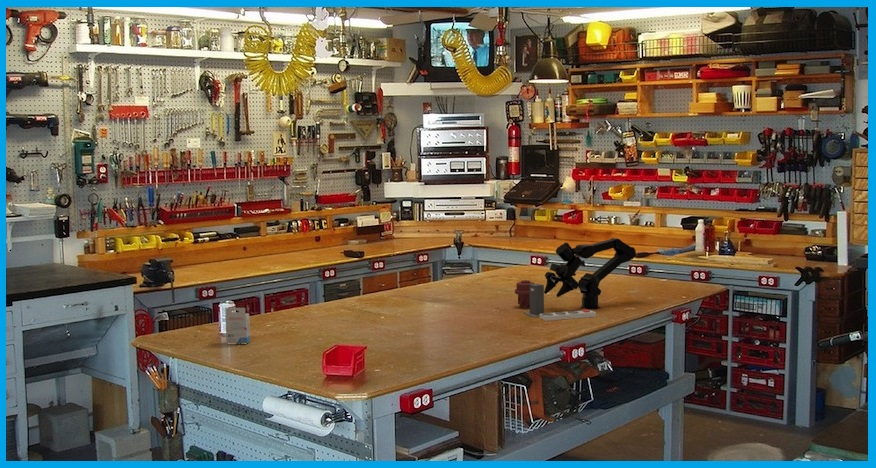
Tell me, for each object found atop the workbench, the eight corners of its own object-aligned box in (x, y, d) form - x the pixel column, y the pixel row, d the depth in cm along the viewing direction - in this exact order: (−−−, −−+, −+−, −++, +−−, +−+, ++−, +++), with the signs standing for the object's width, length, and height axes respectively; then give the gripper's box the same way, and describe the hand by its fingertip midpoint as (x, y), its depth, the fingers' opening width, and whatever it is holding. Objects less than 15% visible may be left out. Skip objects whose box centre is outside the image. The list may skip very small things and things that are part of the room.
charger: (538, 312, 459) (538, 283, 458) (543, 314, 455) (543, 284, 454) (529, 313, 457) (529, 284, 455) (535, 315, 453) (535, 285, 451)
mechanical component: (537, 305, 478) (535, 309, 468) (516, 305, 480) (513, 309, 470) (537, 279, 476) (535, 282, 466) (516, 278, 478) (513, 282, 468)
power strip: (589, 314, 455) (589, 308, 455) (595, 316, 449) (596, 310, 449) (539, 318, 448) (539, 311, 448) (545, 320, 442) (545, 314, 442)
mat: (541, 312, 461) (541, 311, 461) (548, 315, 453) (548, 314, 453) (525, 313, 459) (525, 312, 459) (531, 316, 451) (531, 316, 451)
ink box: (250, 342, 409) (249, 305, 407) (247, 344, 404) (245, 307, 402) (230, 341, 410) (228, 305, 408) (226, 344, 405) (224, 307, 403)
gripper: (547, 254, 467) (528, 280, 463) (573, 259, 451) (553, 286, 447) (561, 269, 472) (542, 295, 468) (587, 275, 456) (567, 302, 452)
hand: (550, 294), depth 459 cm, fingers open, 9 cm apart
